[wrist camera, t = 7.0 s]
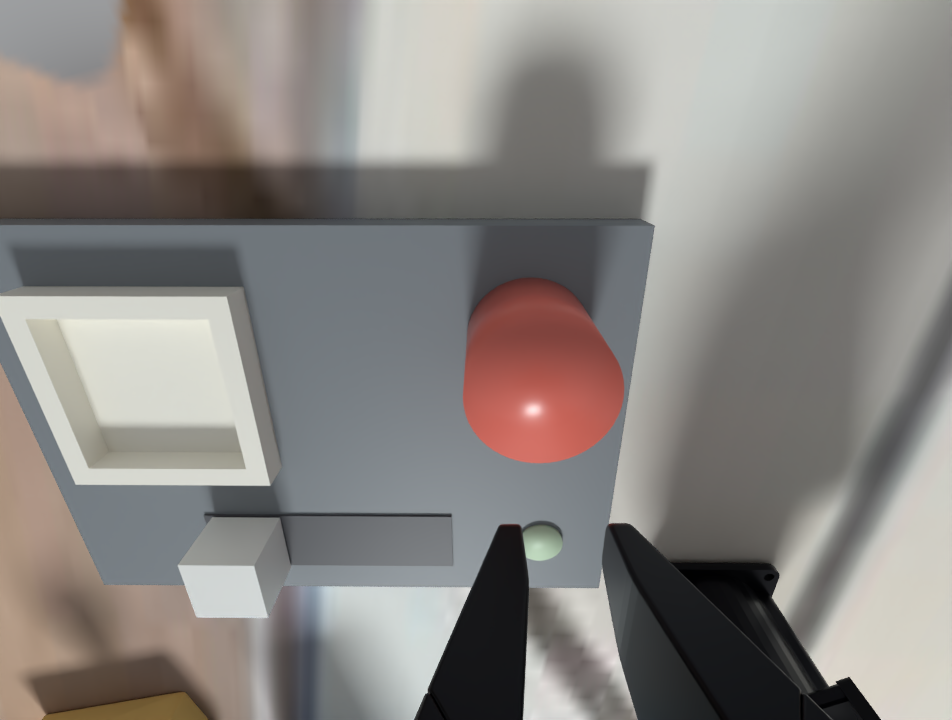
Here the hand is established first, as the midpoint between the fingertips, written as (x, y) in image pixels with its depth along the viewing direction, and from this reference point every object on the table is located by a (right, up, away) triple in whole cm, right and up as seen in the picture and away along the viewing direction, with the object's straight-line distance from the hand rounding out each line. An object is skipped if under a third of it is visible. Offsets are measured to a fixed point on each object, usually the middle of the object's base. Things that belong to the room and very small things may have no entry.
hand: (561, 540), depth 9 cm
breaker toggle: (-12, -5, +13) cm, 18 cm away
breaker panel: (-8, +1, +12) cm, 14 cm away
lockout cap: (0, +4, +9) cm, 10 cm away
